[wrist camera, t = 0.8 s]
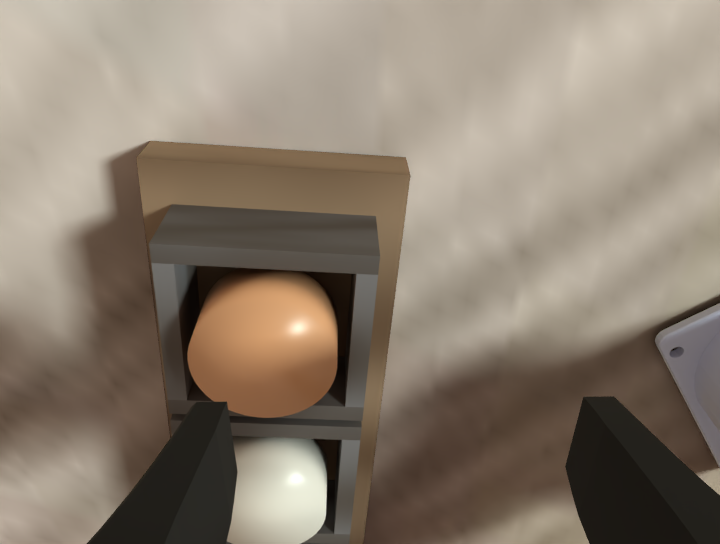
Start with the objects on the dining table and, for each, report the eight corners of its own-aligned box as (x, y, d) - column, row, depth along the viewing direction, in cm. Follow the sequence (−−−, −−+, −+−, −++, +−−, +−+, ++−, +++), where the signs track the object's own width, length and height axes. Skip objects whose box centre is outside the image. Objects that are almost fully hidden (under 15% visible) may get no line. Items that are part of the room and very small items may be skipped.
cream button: (349, 474, 22) (350, 521, 21) (260, 516, 23) (254, 564, 22) (280, 406, 20) (275, 451, 19) (187, 455, 22) (174, 502, 20)
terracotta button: (363, 335, 19) (365, 377, 17) (259, 392, 20) (251, 437, 18) (283, 239, 17) (276, 275, 15) (173, 307, 18) (155, 348, 17)
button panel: (150, 141, 19) (107, 193, 15) (405, 157, 19) (419, 212, 16) (196, 565, 30) (177, 650, 27) (355, 569, 30) (357, 653, 27)
